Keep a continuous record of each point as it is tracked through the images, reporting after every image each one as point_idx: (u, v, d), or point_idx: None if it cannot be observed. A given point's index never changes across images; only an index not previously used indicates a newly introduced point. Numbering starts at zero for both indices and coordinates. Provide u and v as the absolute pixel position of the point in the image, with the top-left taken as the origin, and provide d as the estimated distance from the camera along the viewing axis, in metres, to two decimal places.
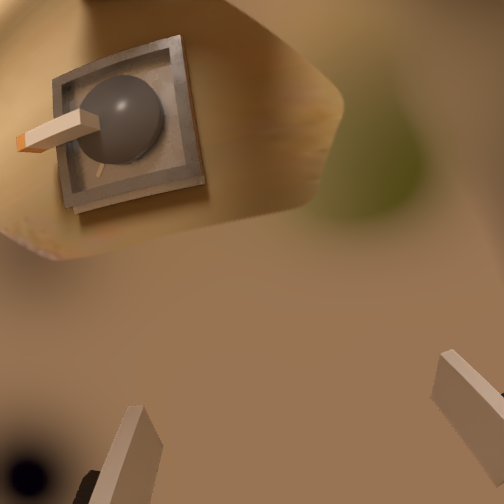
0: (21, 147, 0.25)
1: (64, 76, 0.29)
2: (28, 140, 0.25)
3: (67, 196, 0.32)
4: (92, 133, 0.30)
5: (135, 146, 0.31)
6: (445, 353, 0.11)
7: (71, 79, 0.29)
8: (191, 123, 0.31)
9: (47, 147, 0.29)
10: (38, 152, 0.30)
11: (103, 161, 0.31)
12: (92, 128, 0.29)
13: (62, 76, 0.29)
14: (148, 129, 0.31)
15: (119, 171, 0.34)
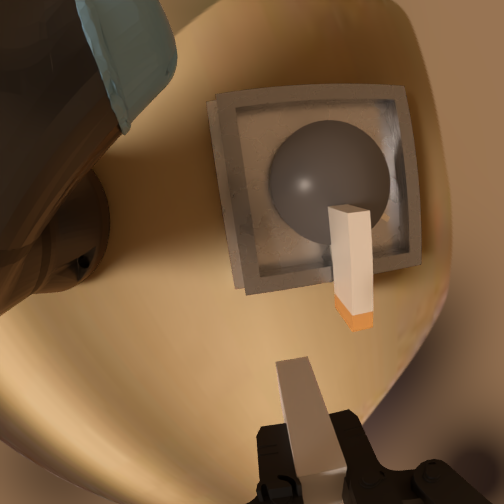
0: (370, 320, 0.23)
1: (247, 273, 0.27)
2: (365, 307, 0.23)
3: (410, 259, 0.28)
4: None
5: (374, 154, 0.25)
6: (297, 359, 0.13)
7: (255, 260, 0.27)
8: (349, 85, 0.23)
9: None
10: None
11: (385, 201, 0.26)
12: None
13: (246, 277, 0.27)
14: (356, 135, 0.24)
15: None
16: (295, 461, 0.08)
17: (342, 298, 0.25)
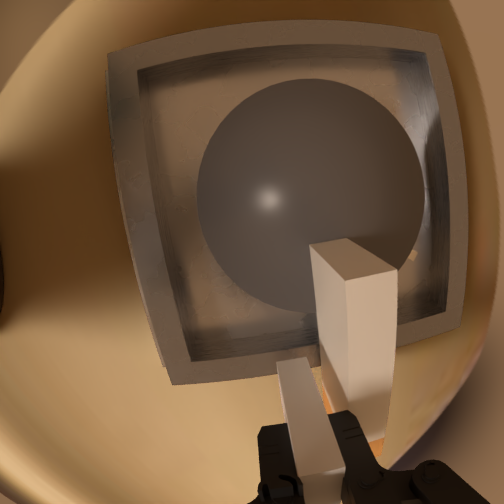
0: (378, 448, 0.11)
1: (169, 355, 0.15)
2: (371, 434, 0.11)
3: (445, 322, 0.16)
4: None
5: (396, 142, 0.13)
6: (296, 360, 0.13)
7: (181, 337, 0.15)
8: (346, 23, 0.11)
9: None
10: None
11: (416, 228, 0.14)
12: None
13: (168, 360, 0.15)
14: (360, 106, 0.12)
15: None
16: (296, 461, 0.08)
17: (333, 407, 0.13)
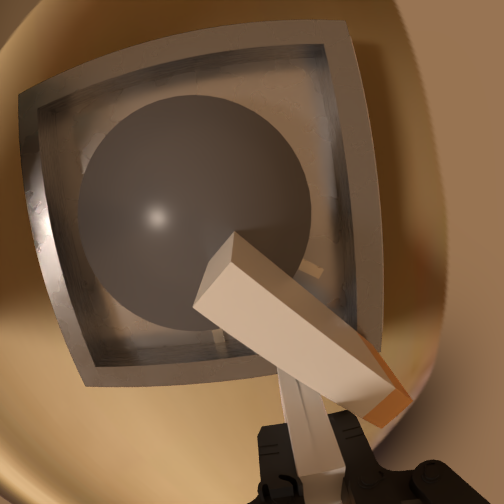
0: (401, 398, 0.10)
1: (78, 359, 0.15)
2: (376, 395, 0.10)
3: None
4: (255, 244, 0.14)
5: (208, 113, 0.12)
6: None
7: (84, 344, 0.15)
8: (224, 27, 0.11)
9: (355, 334, 0.14)
10: (374, 348, 0.14)
11: (295, 164, 0.13)
12: (237, 242, 0.12)
13: (78, 364, 0.15)
14: (154, 117, 0.12)
15: (317, 216, 0.16)
16: (296, 461, 0.08)
17: None
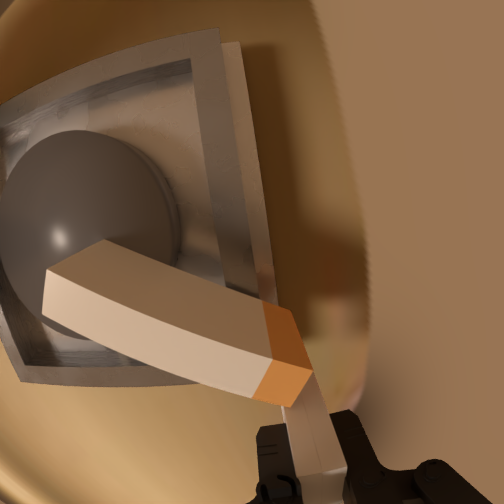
0: (291, 370, 0.10)
1: (12, 358, 0.15)
2: (250, 370, 0.09)
3: None
4: (124, 245, 0.13)
5: (56, 149, 0.12)
6: None
7: (14, 345, 0.15)
8: (100, 59, 0.11)
9: (250, 305, 0.13)
10: (289, 314, 0.14)
11: (131, 159, 0.12)
12: (91, 248, 0.12)
13: (13, 362, 0.15)
14: (24, 170, 0.12)
15: (196, 235, 0.16)
16: (295, 461, 0.08)
17: None
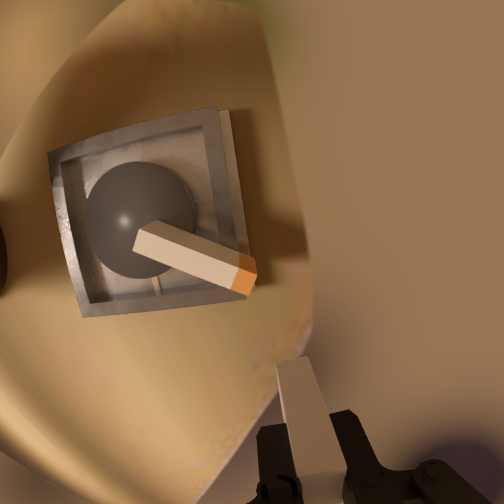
0: (247, 274, 0.23)
1: (80, 299, 0.29)
2: (229, 273, 0.23)
3: (230, 294, 0.29)
4: (168, 223, 0.27)
5: (128, 171, 0.25)
6: (297, 359, 0.13)
7: (84, 289, 0.28)
8: (151, 121, 0.25)
9: (232, 252, 0.26)
10: (253, 259, 0.27)
11: (172, 179, 0.26)
12: (153, 223, 0.25)
13: (80, 302, 0.29)
14: (106, 181, 0.26)
15: (205, 219, 0.29)
16: (295, 461, 0.08)
17: None
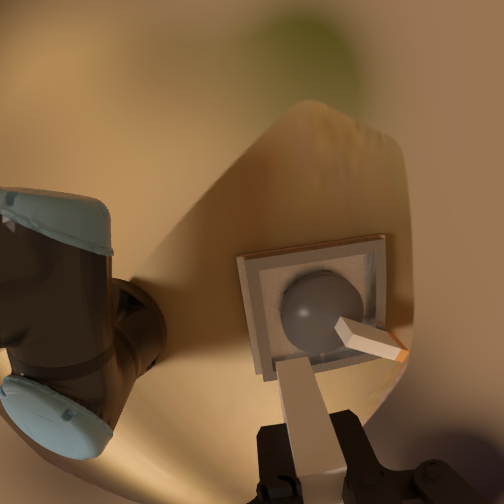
0: (404, 351, 0.34)
1: (264, 370, 0.40)
2: (396, 352, 0.34)
3: (374, 355, 0.40)
4: (347, 317, 0.38)
5: (324, 283, 0.37)
6: (297, 359, 0.13)
7: (270, 363, 0.40)
8: (341, 246, 0.36)
9: (386, 334, 0.38)
10: (394, 335, 0.39)
11: (354, 290, 0.37)
12: (345, 322, 0.36)
13: (264, 372, 0.40)
14: (305, 290, 0.37)
15: None
16: (295, 461, 0.08)
17: None
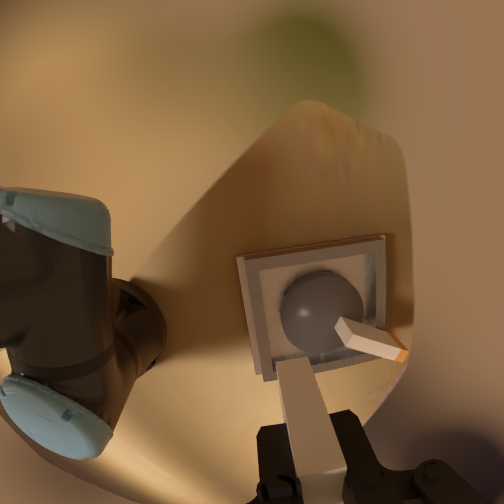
0: (404, 351, 0.34)
1: (264, 370, 0.40)
2: (396, 352, 0.34)
3: (374, 355, 0.40)
4: (347, 317, 0.38)
5: (324, 283, 0.37)
6: (297, 359, 0.13)
7: (270, 363, 0.40)
8: (341, 246, 0.36)
9: (386, 334, 0.38)
10: (394, 335, 0.39)
11: (354, 290, 0.37)
12: (345, 322, 0.36)
13: (264, 372, 0.40)
14: (305, 290, 0.37)
15: None
16: (295, 461, 0.08)
17: None
